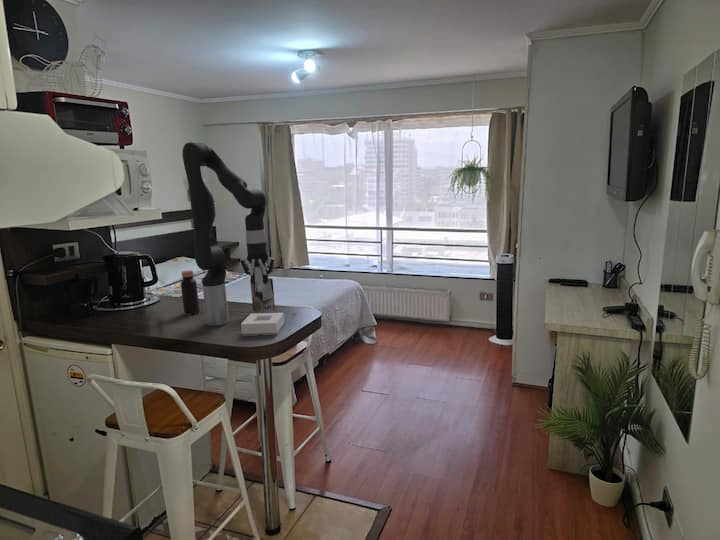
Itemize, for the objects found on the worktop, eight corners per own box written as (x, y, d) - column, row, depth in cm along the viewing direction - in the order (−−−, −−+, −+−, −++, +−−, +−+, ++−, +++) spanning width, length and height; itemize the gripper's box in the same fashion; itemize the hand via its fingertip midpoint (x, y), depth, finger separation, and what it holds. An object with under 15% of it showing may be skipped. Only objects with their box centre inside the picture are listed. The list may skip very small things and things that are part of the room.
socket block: (242, 336, 181) (240, 324, 180) (251, 324, 195) (250, 313, 194) (277, 335, 181) (276, 323, 180) (284, 324, 194) (283, 312, 193)
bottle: (181, 314, 216) (176, 272, 212) (193, 310, 221) (189, 269, 217) (190, 316, 212) (185, 273, 208) (202, 312, 217) (198, 270, 213)
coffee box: (276, 313, 211) (273, 278, 208) (264, 316, 206) (261, 281, 203) (264, 309, 217) (261, 276, 214) (252, 313, 213) (249, 278, 209)
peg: (254, 291, 183) (252, 267, 181) (256, 289, 187) (254, 265, 185) (264, 291, 183) (262, 266, 181) (266, 289, 186) (264, 264, 185)
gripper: (235, 243, 177) (239, 286, 181) (271, 242, 177) (275, 285, 180) (241, 240, 185) (245, 282, 188) (276, 239, 184) (279, 281, 187)
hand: (260, 283), depth 184 cm, fingers closed on peg, 4 cm apart
